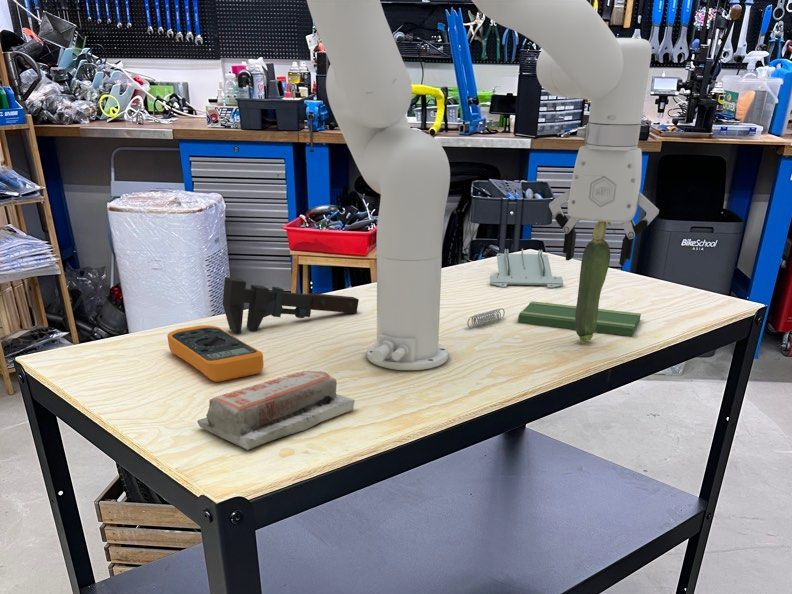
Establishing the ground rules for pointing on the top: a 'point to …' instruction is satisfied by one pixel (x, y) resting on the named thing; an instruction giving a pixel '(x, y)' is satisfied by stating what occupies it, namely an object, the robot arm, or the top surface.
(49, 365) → the top surface
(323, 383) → the packaged product
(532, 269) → the metal bracket
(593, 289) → the vegetable
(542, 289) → the top surface
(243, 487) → the top surface
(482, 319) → the spring
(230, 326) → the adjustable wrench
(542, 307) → the green rectangular slab
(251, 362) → the multimeter
